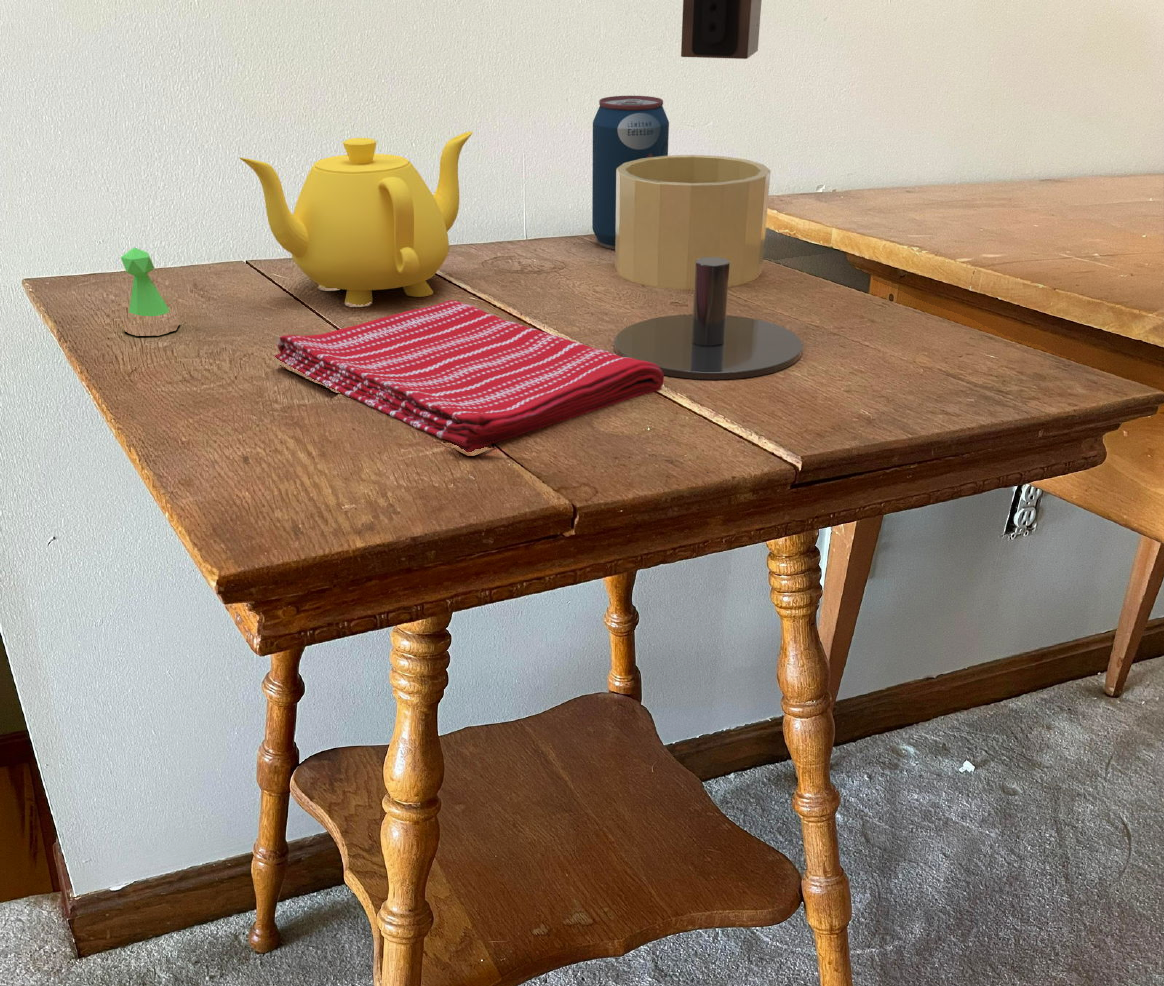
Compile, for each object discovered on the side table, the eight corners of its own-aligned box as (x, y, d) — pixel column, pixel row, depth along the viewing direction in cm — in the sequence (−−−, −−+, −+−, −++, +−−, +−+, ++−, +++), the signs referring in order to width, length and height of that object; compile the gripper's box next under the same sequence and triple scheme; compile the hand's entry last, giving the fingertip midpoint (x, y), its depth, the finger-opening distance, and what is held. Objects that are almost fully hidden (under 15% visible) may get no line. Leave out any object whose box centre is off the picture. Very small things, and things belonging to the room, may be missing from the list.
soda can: (660, 253, 111) (665, 106, 103) (586, 250, 112) (586, 104, 104) (668, 235, 116) (674, 95, 109) (598, 232, 117) (599, 93, 110)
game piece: (186, 332, 92) (170, 249, 89) (129, 340, 91) (110, 257, 87) (174, 317, 95) (158, 237, 92) (119, 325, 94) (100, 244, 90)
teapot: (302, 335, 92) (278, 170, 85) (235, 290, 101) (209, 139, 95) (526, 294, 100) (521, 142, 93) (444, 257, 110) (434, 116, 103)
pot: (771, 262, 108) (780, 158, 103) (746, 301, 98) (755, 188, 93) (636, 253, 111) (638, 151, 106) (599, 290, 101) (599, 180, 96)
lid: (812, 336, 91) (823, 243, 87) (785, 396, 80) (796, 294, 76) (639, 322, 94) (641, 232, 90) (591, 378, 83) (592, 279, 79)
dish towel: (474, 465, 71) (472, 421, 70) (269, 369, 85) (263, 331, 84) (674, 396, 80) (675, 356, 79) (459, 320, 94) (457, 285, 93)
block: (757, 50, 92) (763, -28, 89) (747, 58, 88) (752, -23, 85) (693, 49, 93) (697, -29, 90) (680, 56, 89) (684, -24, 86)
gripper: (777, -284, 72) (752, 66, 83) (811, -260, 85) (785, 39, 96) (655, -280, 73) (646, 62, 84) (707, -257, 86) (694, 37, 97)
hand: (720, 47), depth 90 cm, fingers closed on block, 5 cm apart
